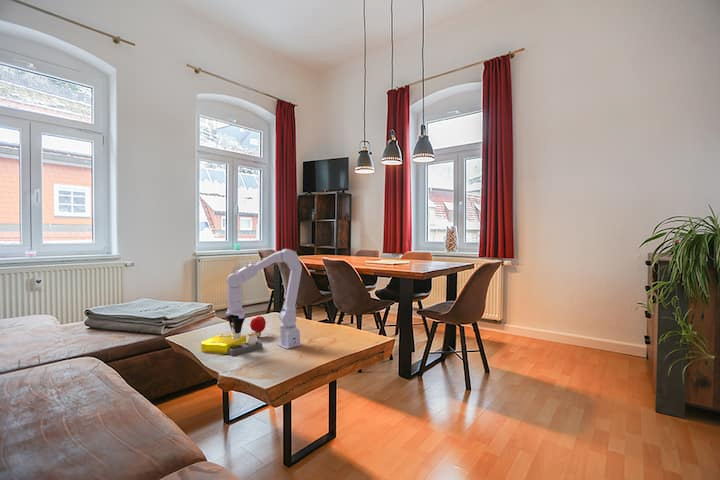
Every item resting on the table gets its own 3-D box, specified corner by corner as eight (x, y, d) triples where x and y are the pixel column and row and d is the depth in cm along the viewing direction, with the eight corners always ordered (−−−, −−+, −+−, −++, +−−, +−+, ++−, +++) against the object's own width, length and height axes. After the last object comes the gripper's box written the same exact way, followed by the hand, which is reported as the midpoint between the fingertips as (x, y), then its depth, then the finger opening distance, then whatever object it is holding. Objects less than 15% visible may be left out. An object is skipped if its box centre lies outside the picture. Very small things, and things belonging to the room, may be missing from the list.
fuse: (257, 348, 160) (257, 333, 160) (249, 350, 158) (249, 334, 157) (254, 346, 163) (253, 331, 163) (246, 348, 160) (245, 333, 160)
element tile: (199, 352, 158) (198, 341, 158) (221, 342, 172) (220, 332, 172) (228, 355, 154) (227, 344, 154) (248, 343, 168) (247, 333, 168)
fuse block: (262, 348, 160) (262, 343, 160) (231, 355, 151) (231, 350, 151) (256, 345, 165) (256, 340, 165) (226, 352, 156) (226, 347, 156)
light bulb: (260, 340, 172) (259, 319, 171) (247, 339, 173) (246, 319, 173) (269, 334, 181) (268, 315, 181) (256, 334, 182) (255, 314, 182)
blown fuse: (242, 338, 155) (241, 322, 155) (233, 339, 153) (233, 323, 153) (238, 336, 158) (238, 320, 158) (230, 338, 156) (230, 322, 155)
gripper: (219, 300, 158) (221, 330, 158) (232, 304, 147) (233, 337, 147) (235, 297, 162) (236, 327, 163) (248, 302, 151) (249, 333, 152)
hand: (236, 332), depth 155 cm, fingers closed on blown fuse, 4 cm apart
